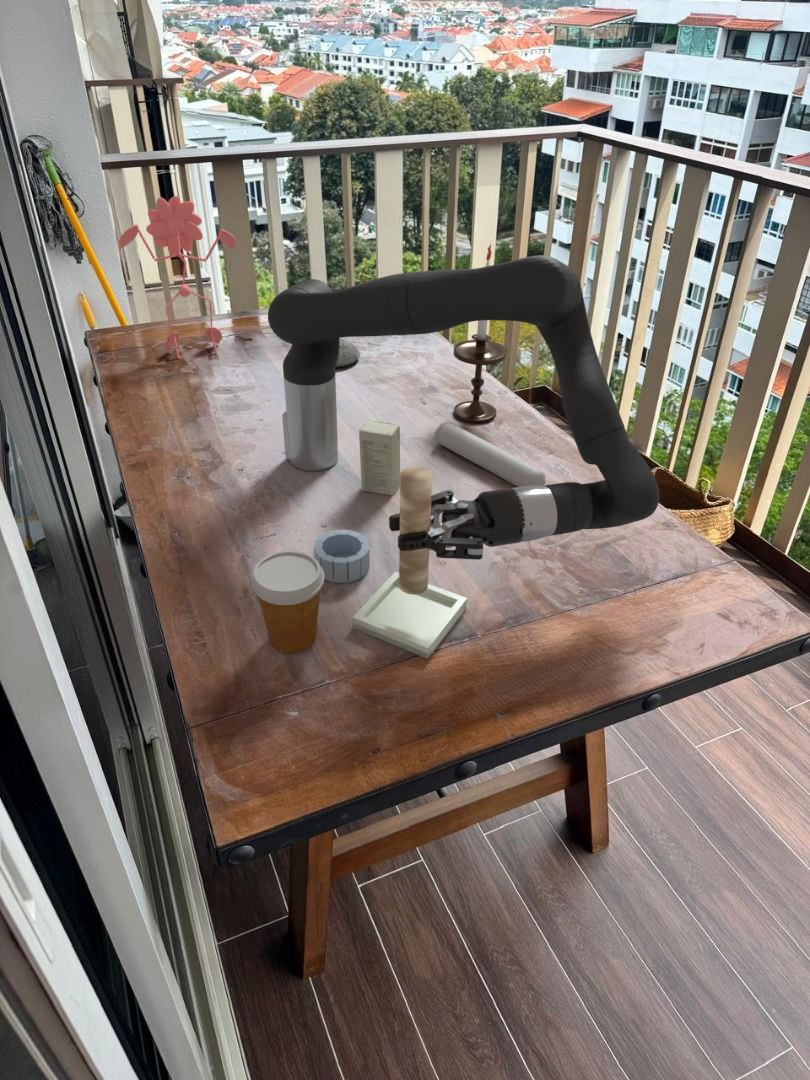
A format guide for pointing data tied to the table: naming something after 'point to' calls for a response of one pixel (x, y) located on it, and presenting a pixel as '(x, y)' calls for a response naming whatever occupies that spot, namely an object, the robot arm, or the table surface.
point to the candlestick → (478, 370)
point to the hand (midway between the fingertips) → (394, 533)
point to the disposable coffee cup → (289, 598)
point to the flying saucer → (347, 353)
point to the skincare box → (380, 457)
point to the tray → (410, 616)
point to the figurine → (178, 248)
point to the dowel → (414, 527)
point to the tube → (488, 456)
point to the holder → (343, 555)
